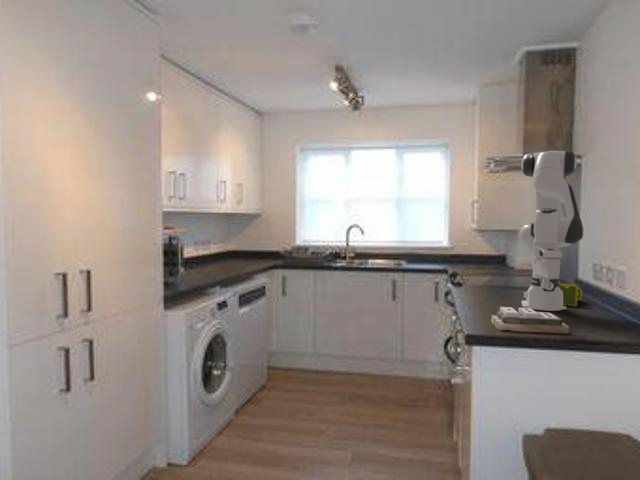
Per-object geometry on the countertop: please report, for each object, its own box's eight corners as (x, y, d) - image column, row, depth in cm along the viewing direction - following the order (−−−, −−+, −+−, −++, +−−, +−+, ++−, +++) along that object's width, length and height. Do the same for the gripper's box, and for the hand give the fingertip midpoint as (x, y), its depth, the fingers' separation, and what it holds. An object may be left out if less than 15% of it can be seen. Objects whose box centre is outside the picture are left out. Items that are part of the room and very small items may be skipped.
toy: (572, 281, 262) (586, 285, 233) (572, 301, 261) (586, 307, 233) (538, 280, 266) (547, 283, 237) (537, 299, 266) (547, 304, 237)
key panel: (490, 321, 198) (491, 310, 198) (554, 323, 194) (554, 312, 194) (499, 330, 182) (499, 318, 182) (568, 333, 179) (568, 321, 178)
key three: (537, 317, 193) (537, 311, 193) (548, 317, 192) (549, 312, 192) (545, 323, 182) (545, 317, 182) (558, 323, 181) (558, 317, 181)
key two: (518, 312, 194) (518, 307, 194) (530, 313, 193) (530, 307, 193) (525, 318, 183) (525, 312, 183) (538, 319, 182) (538, 313, 182)
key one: (499, 312, 195) (499, 306, 195) (511, 312, 194) (511, 306, 194) (505, 317, 184) (506, 311, 184) (518, 318, 183) (518, 312, 183)
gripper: (529, 249, 197) (527, 284, 197) (545, 253, 176) (543, 291, 177) (545, 249, 196) (544, 284, 196) (563, 253, 176) (562, 292, 176)
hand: (544, 288), depth 187 cm, fingers closed
